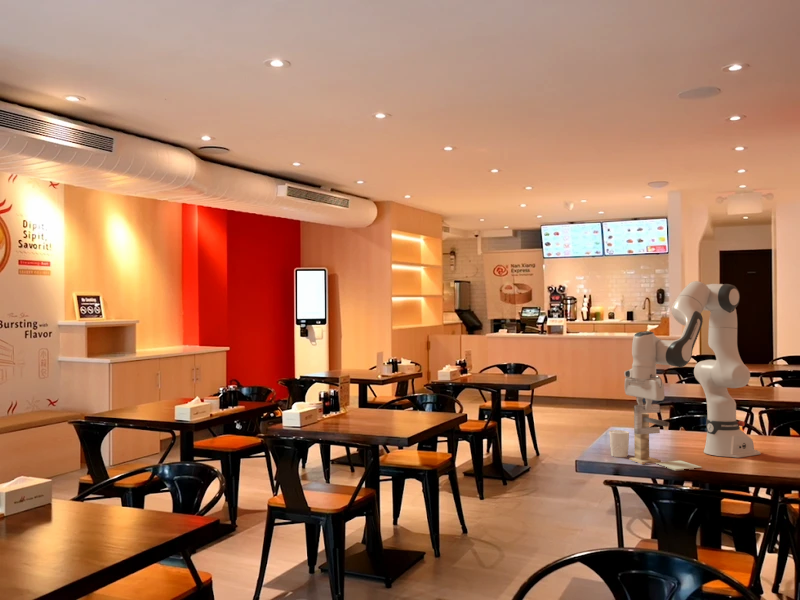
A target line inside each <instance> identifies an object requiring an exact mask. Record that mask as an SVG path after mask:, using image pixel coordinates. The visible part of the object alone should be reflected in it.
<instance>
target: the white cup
mask: <svg viewBox="0 0 800 600" xmlns="http://www.w3.org/2000/svg"><path fill="white" fill-rule="evenodd" d="M608 433H609V434H608V436H609V446H610V456H611V457H613V456H614V458H627V456H628V457H629V446H630V445H629V444H630V431H627V430H621V429H619V430H618V429H616V430H614V429H613V430H609V432H608Z"/></svg>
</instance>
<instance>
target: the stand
mask: <svg viewBox="0 0 800 600" xmlns="http://www.w3.org/2000/svg"><path fill="white" fill-rule="evenodd" d="M649 415H650V413H642V428H649V427H650V424H654V425H657V426H662V427H666V428H667V427H670V422H669V421H666V420H661V419H657V418H652V417H650V416H649ZM633 435H634V436H633V437H634V457H629V459H628V460H632V461H635V462H638V463H640V464H639V465H641V464H642V465H646V464H645V463H656V462H662V460H661V459H658V458H654V457H651V456H650V434H634V433H633ZM632 461H631V462H632ZM635 462H634V463H635ZM638 463H637V464H638Z"/></svg>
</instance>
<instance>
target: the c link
mask: <svg viewBox="0 0 800 600" xmlns="http://www.w3.org/2000/svg"><path fill="white" fill-rule="evenodd" d="M645 405H646V404H644V405H638V404H635V405H633V408H634V409H633V415H634V416H633V419H634V420H633V423H634V427H633V428H634V429H633V431H634V432H633V435H634V434H649V435H650V434H651V435H652V434H660V433H661V432H660V431H661V430H660V427H657V426H654V427H653V426H652V427H650V426H649V428H642V413H648V414H651V413H660V410H661V409H660V404H651V406H650V410H649V411H646V410H644V406H645Z"/></svg>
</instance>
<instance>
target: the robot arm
mask: <svg viewBox="0 0 800 600" xmlns="http://www.w3.org/2000/svg"><path fill="white" fill-rule="evenodd" d="M740 298H741V295H740V291H739V289H738V288H737V287H736V286H735V285H734V284H729V283H724V284H723V283H710V284H705V283H704V282H703V281H698V280H696V281H695V280H694V281H691V282H689V283H688V284H687V285H686V286H685V287H684V288H683V289H682V290H681V291H680V292H679V294H678V295H677V297H676V298H675V300H674V302H672V306H671V309H670V310H671V315H672V317H673V319H674V320H676V321H677V323H679V324H680V325H682V326H684V327H683V331H682V333H681V336H680V338H677V339H674V340H673V339H672V340H671V339H670V340H667V339H661V338H659V337H658V336H656V335H655V333H654V332H653V331H648V330H646V331H645V330H644V331H639V332H636V333H635V334H634V335H633V337H632V344H631V356H632V364H631V368H630V369H628V370H624V372H623V374H624V393H625V395H626V396H629V397H635V399H636V403H637V405H645V406H644V410H646V411H649V410H650V406H651V405H652V403H653V401H657V402H658V401H664V399H665V387H664V383H663V380H662V378H661V377H660V375H657V365H661V366H662V365H663V366H671V367H677V368H683V367H685V366H686V365H688V363H690V361H691V359H692V357H693V350H694V347H695V345H696V343H697V340H698V337H699V334H700V331H701V330H702V326H703V323H704V319H703V315H702V313H703V311H706V312H709V311H710V313H709V319H708V331H707V332H708V334H707V338H708V339H707V341H708V342H707V345H708V347H709V348H710V349H711V350H712V351H713V353H714V356H715V359H705V360H700V361H699V362H697V363H695V366H694V369H693V375H694V378H695V380H696V381H697V382H698V383H699V384H700V386H701V387H702V389H703V393H704V394H705V399H706V410H707V412H706V413H707V416H706V417H707V418H706V419H705V421H706V437H705V440H706V441H705V444H704V445H705V446H704V450H703V453H704V454H706V455H712V456H717V457H727V458H729V457H730V458H745V457H746V458H747V457H751V456H757V455H761V451H759V450H757V449H755V446H754V444H755V443H754V441H753V439H752V438H751V437H750V436H749V435H748V434H746V433H745V432H744V431H743V430H742V429H740V427H744V426H745V421H743V420H742V421H741V420H739V421H738V420H737V403H736V400H735V399H734V398H733V397H732V395H730V393H729V391H728V389H738V388H743V387H744V388H745V387H746V386H747V385H748V383H749V381H750V380H751V371H750V368H749V367H748V366H747V365H745V364H744V362H743V360H742V358H741V356H740V352H739V347H738V314H737V309H736V308H737V307H738V306H739V303H740V300H741V299H740ZM644 399H645V404H644V402H643V400H644Z"/></svg>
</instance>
